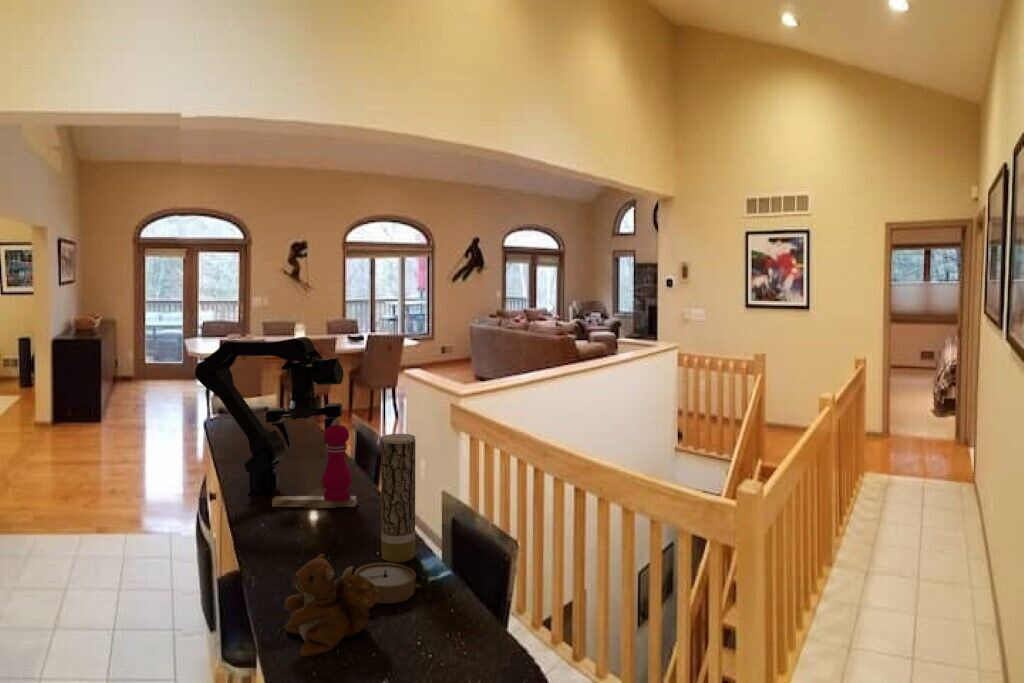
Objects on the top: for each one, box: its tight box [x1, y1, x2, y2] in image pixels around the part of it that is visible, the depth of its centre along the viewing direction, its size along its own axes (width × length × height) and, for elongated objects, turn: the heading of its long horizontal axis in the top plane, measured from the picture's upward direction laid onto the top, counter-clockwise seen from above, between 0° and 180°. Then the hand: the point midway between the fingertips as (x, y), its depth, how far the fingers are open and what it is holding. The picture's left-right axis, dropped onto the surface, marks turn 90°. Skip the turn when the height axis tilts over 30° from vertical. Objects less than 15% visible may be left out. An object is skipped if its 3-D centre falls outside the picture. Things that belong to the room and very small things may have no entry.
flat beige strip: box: [271, 495, 357, 509], centre depth 177 cm, size 20×3×2 cm, turn 93°
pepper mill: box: [321, 418, 353, 502], centre depth 176 cm, size 7×7×20 cm
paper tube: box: [380, 433, 416, 564], centre depth 145 cm, size 7×7×25 cm
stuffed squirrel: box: [283, 553, 379, 658], centre depth 113 cm, size 10×14×13 cm
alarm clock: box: [334, 562, 422, 605], centre depth 129 cm, size 11×5×15 cm
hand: (307, 445), depth 185 cm, fingers open, 9 cm apart
